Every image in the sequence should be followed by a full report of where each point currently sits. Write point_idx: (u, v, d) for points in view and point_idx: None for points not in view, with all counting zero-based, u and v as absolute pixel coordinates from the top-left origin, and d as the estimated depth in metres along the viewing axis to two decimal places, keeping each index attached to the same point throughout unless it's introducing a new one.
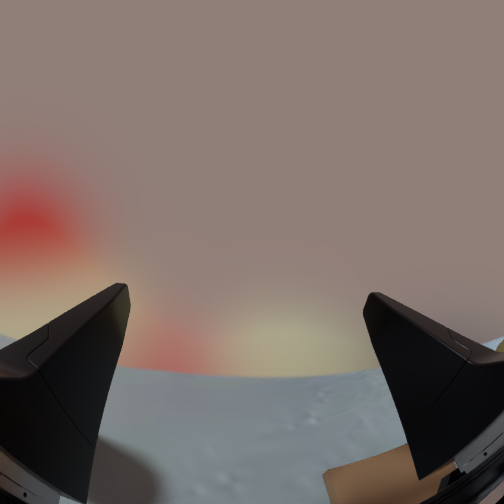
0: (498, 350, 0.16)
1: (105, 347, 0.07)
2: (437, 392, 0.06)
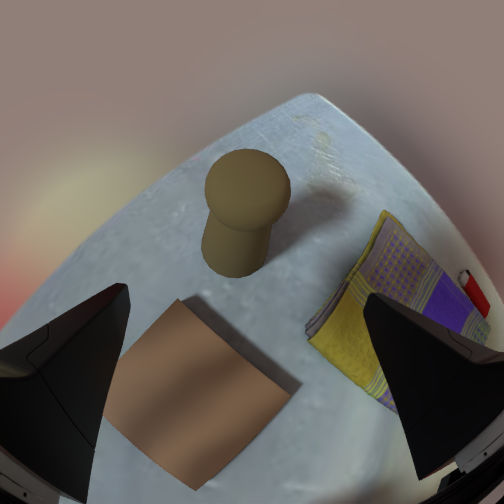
0: (205, 186, 0.16)
1: (105, 347, 0.07)
2: (437, 392, 0.06)
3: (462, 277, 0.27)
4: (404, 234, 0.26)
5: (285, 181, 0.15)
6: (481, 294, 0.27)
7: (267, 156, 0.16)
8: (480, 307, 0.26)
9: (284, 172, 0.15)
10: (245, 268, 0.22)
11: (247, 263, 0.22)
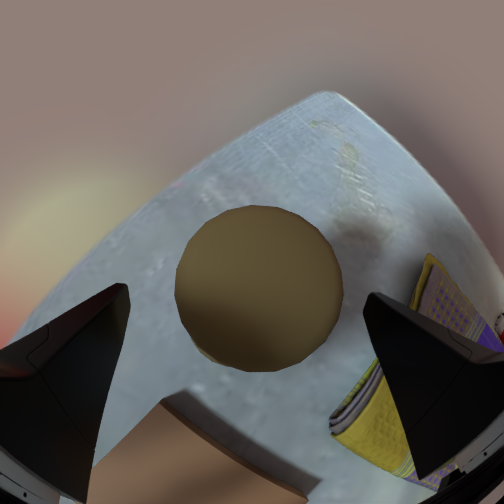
0: (175, 287, 0.08)
1: (105, 347, 0.07)
2: (437, 392, 0.06)
3: (500, 324, 0.19)
4: (450, 284, 0.19)
5: (337, 282, 0.07)
6: None
7: (300, 225, 0.08)
8: None
9: (334, 260, 0.08)
10: None
11: None
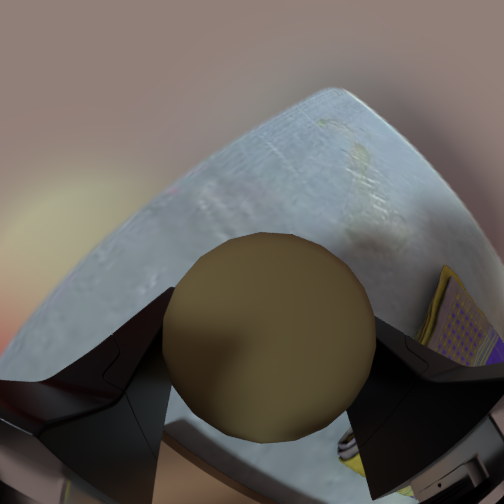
0: (163, 342, 0.06)
1: None
2: (389, 408, 0.06)
3: None
4: (466, 298, 0.17)
5: (371, 337, 0.05)
6: None
7: (328, 264, 0.06)
8: None
9: (368, 308, 0.06)
10: None
11: None
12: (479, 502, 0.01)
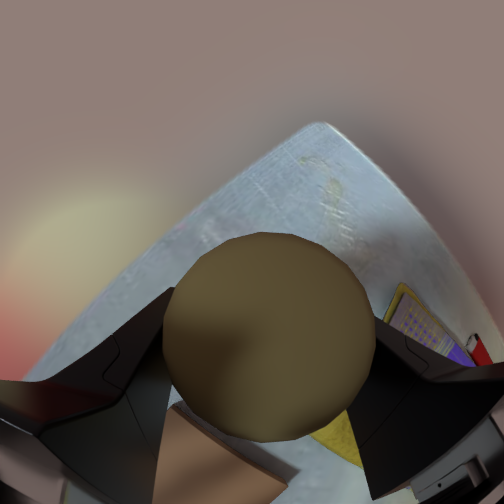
0: None
1: None
2: (389, 408, 0.06)
3: (470, 344, 0.23)
4: (420, 310, 0.23)
5: (371, 336, 0.05)
6: (487, 357, 0.23)
7: (327, 263, 0.06)
8: None
9: (368, 308, 0.06)
10: None
11: None
12: (479, 502, 0.01)
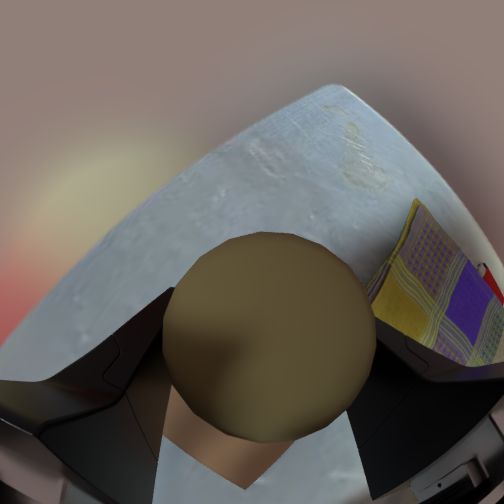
0: (163, 341, 0.06)
1: None
2: (389, 408, 0.06)
3: (480, 270, 0.26)
4: (434, 222, 0.26)
5: (371, 336, 0.05)
6: (496, 287, 0.26)
7: (328, 263, 0.06)
8: None
9: (369, 308, 0.06)
10: None
11: None
12: (479, 502, 0.01)
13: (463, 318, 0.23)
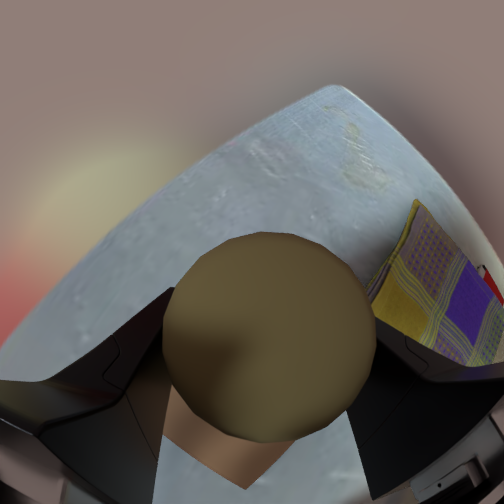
0: (163, 341, 0.06)
1: None
2: (389, 408, 0.06)
3: (479, 272, 0.26)
4: (434, 222, 0.26)
5: (371, 336, 0.05)
6: (496, 289, 0.26)
7: (328, 263, 0.06)
8: None
9: (369, 308, 0.06)
10: None
11: None
12: (479, 502, 0.01)
13: (463, 319, 0.23)
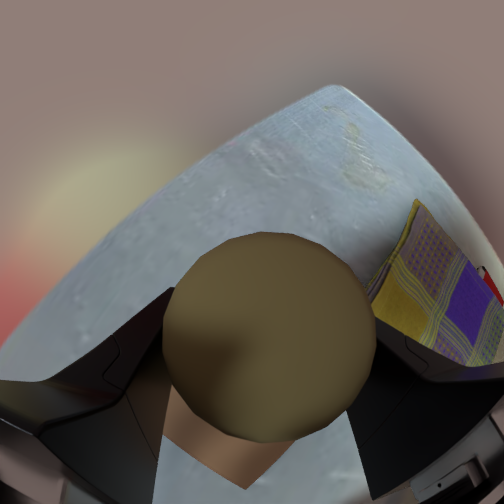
0: (163, 341, 0.06)
1: None
2: (389, 408, 0.06)
3: (479, 273, 0.26)
4: (434, 222, 0.26)
5: (371, 336, 0.05)
6: (496, 290, 0.26)
7: (328, 263, 0.06)
8: None
9: (369, 308, 0.06)
10: None
11: None
12: (479, 502, 0.01)
13: (463, 319, 0.23)
